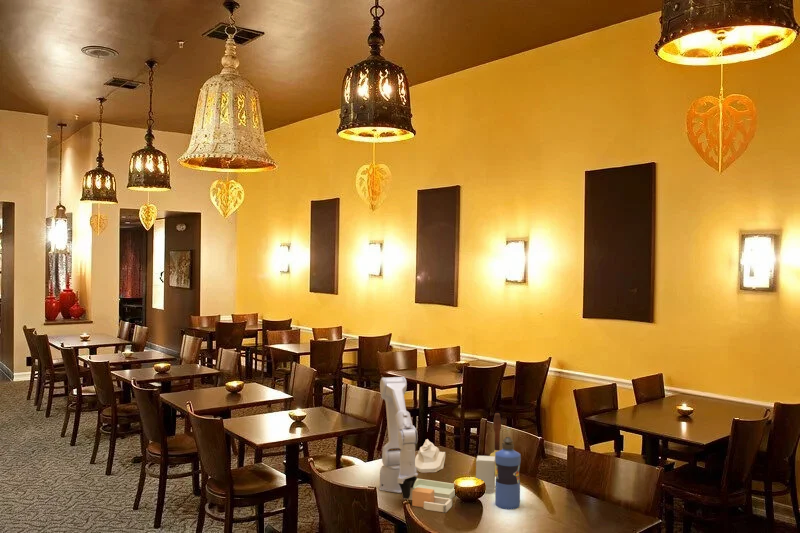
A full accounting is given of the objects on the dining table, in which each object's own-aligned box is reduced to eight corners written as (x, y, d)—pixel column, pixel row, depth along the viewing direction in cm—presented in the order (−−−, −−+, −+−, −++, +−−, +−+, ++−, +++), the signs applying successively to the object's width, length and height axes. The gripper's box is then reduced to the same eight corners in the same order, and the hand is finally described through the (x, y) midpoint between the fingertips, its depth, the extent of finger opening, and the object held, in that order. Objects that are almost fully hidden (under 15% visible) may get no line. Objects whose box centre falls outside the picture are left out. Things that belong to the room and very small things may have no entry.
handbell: (490, 465, 294) (491, 409, 294) (516, 470, 287) (516, 412, 287) (477, 471, 284) (477, 413, 284) (503, 477, 277) (503, 417, 277)
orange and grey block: (402, 504, 244) (402, 489, 244) (406, 500, 248) (406, 485, 248) (430, 508, 240) (430, 493, 240) (434, 504, 244) (434, 489, 244)
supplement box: (494, 493, 257) (494, 461, 257) (475, 492, 258) (475, 460, 258) (495, 487, 264) (495, 456, 264) (476, 486, 265) (477, 454, 265)
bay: (423, 509, 239) (423, 502, 239) (430, 502, 246) (430, 495, 246) (445, 512, 236) (445, 505, 236) (452, 505, 243) (452, 499, 243)
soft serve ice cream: (448, 476, 283) (446, 446, 279) (413, 478, 283) (410, 449, 280) (445, 460, 295) (443, 432, 292) (412, 463, 295) (410, 434, 292)
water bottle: (522, 502, 247) (522, 435, 247) (518, 510, 238) (518, 441, 239) (497, 499, 250) (497, 433, 250) (492, 507, 242) (493, 439, 242)
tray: (404, 494, 254) (404, 488, 254) (417, 484, 266) (417, 478, 266) (449, 501, 247) (449, 494, 247) (459, 490, 259) (459, 484, 259)
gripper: (410, 467, 238) (409, 505, 238) (424, 457, 251) (423, 492, 251) (392, 465, 240) (392, 502, 240) (407, 454, 254) (406, 490, 254)
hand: (407, 497), depth 246 cm, fingers closed on orange and grey block, 2 cm apart
